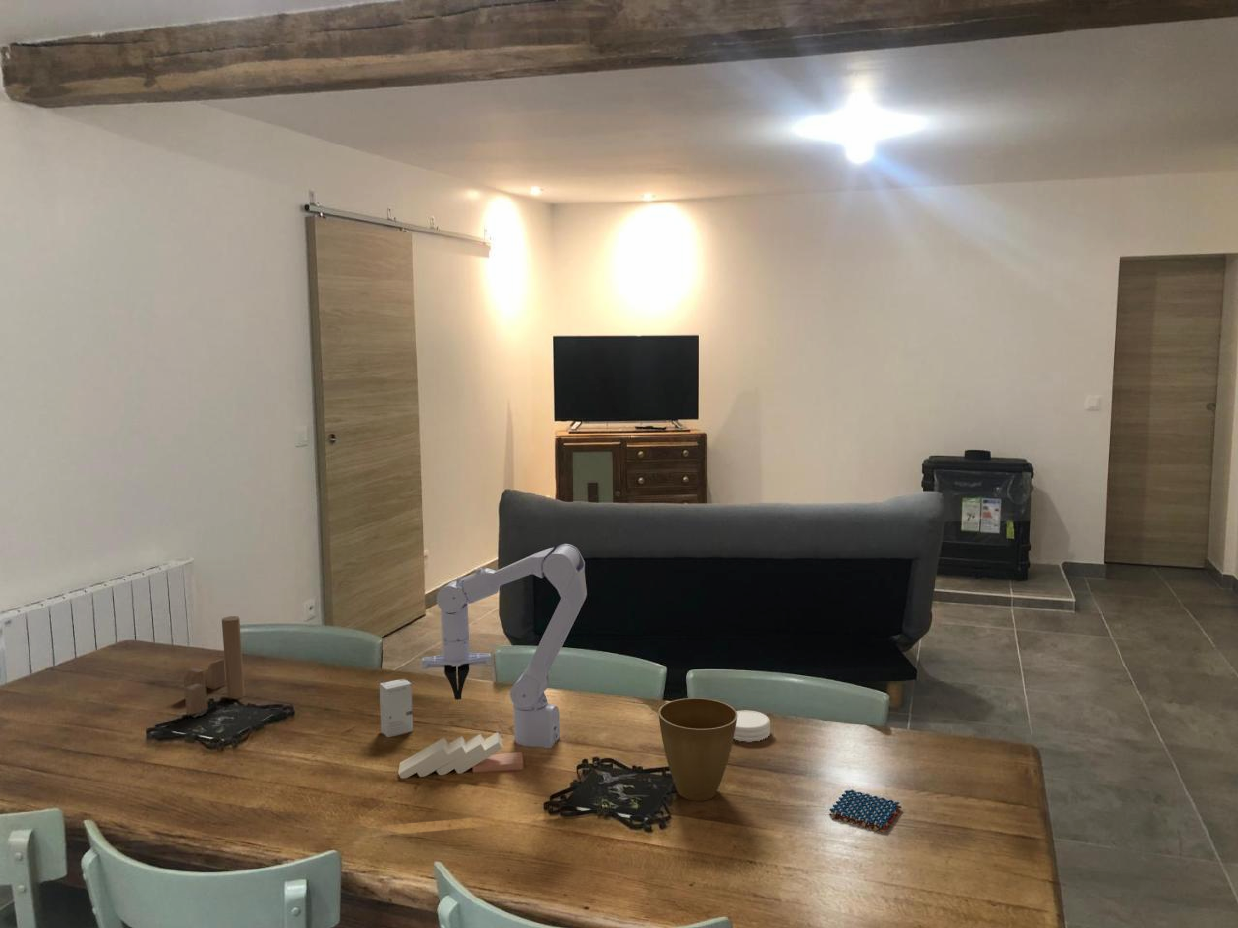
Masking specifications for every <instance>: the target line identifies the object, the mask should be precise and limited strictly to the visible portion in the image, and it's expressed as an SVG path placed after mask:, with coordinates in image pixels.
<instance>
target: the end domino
mask: <svg viewBox="0 0 1238 928" xmlns="http://www.w3.org/2000/svg"><path fill="white" fill-rule="evenodd" d="M521 770H524V758H523V752H522V751H519V752H518V751H517V752H516V751H515V752H506V753H505V752H504V753H495V754H493V755H491V756H490V757H488V758H486V759H485V760H483V761H481V762H480V763H478V764H476V765H475V766H473V767H472V773H473V774H474V773H475V774H476V773H485V772H496V771H497V772H502V771H521Z"/></svg>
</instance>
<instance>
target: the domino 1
mask: <svg viewBox="0 0 1238 928" xmlns="http://www.w3.org/2000/svg"><path fill="white" fill-rule="evenodd" d="M448 744H449V743H448V742H447V739H445V737H443V738H441V739H439V740H437V741H435V742H434V743H432V744H431V745H428V746H427V747H425V748H423V749H421V750H420V751H418V752H417V753H414V754H413V755H411V756H410V757H408V758H406V759H404V760H402V761H401V762H399V767H398V768H399V769H398V776H399V777H400V779H401V780H402V779H408V778H409V777H411V776H413V775H415V774H418V773H417V772H418V771H420V770H422V769H424V768H425V767H427V766H429V765H431V764H432V763H434V762H436V761H438V760H439V759H441V758H443V757H445V756H446V755H448Z"/></svg>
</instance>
